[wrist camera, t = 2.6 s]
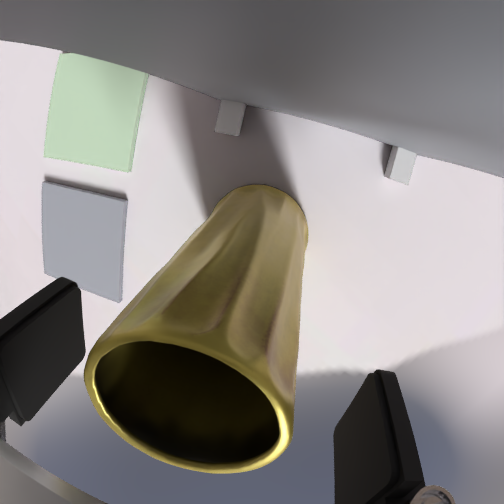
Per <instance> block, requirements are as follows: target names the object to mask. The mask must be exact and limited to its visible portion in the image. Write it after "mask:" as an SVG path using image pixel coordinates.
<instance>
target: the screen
mask: <svg viewBox="0 0 504 504" xmlns="http://www.w3.org/2000/svg"><path fill="white" fill-rule="evenodd" d="M0 40H3V41H11V42H18V43H24V44H30V45H36V46H41V47H47V48H52V49H57V50H62V51H66V52H71V53H75V54H79V55H83V56H87V57H91V58H95V59H99V60H103V61H107V62H110V63H114V64H117V65H121V66H124V67H128V68H131V69H134V70H138V71H141V72H144V73H147V74H150V75H153V76H156V77H159V78H162V79H165V80H168V81H171V82H174V83H176V84H179V85H182V86H185V87H187V88H190V89H193V90H195V91H198V92H201V93H203V94H206V95H208V96H211V97H213V98H216V99H218V100H221V104H220V108H219V113H218V117H217V122H216V126H215V131H214V132H218V133H223V134H228V135H233V136H239V135H240V130H241V126H242V121H243V117H244V113H245V109H246V105H249V106H254V107H258V108H263V109H268V110H272V111H277V112H281V113H285V114H289V115H293V116H297V117H301V118H305V119H309V120H312V121H316V122H320V123H323V124H327V125H330V126H334V127H337V128H340V129H344V130H347V131H350V132H353V133H357V134H360V135H363V136H366V137H369V138H372V139H375V140H377V141H380V142H383V143H386V144H389V145H392V150H391V154H390V157H389V161H388V164H387V168H386V171H385V175H384V176H385V177H387V178H389V179H392V180H394V181H397V182H400V183H403V184H405V185H408V184H409V181H410V178H411V174H412V171H413V167H414V164H415V160H416V157H417V155H419V156H424V157H428V158H432V159H437V160H441V161H445V162H449V163H453V164H457V165H461V166H464V167H468V168H472V169H475V170H479V171H482V172H485V173H489V174H492V175H495V176H499V177H502V178H504V0H0Z"/></svg>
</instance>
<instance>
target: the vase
mask: <svg viewBox="0 0 504 504" xmlns="http://www.w3.org/2000/svg"><path fill="white" fill-rule="evenodd" d="M307 243H308V226H307V222H306V219H305V216H304V214H303V212H302V210H301V208H300V207H299V206H298V204H297V203H296V202H295V201H294V200H293V199H292V198H291V197H290V196H289V195H287V194H286V193H284V192H283V191H281V190H279V189H276V188H274V187H270V186H267V185H247V186H243V187H239V188H236V189H234V190H232V191H231V192H230V193H228V194H227V195H226V196H225V197H223V198H222V199H221V200H220V201H219V202H218V204H217V205H216V206H215V208H214V210H213V212H212V214H211V215H210V217H209V218H208V219H207V220H206V221H205V222H204V223H203V224H202V225H201V226H200V227H199V228H198V229H197V230H196V231H195V232H194V233H193V234H192V235H191V236H190V237H189V238H188V240H187V241H186V242H185V243H184V244H183V245H182V246H181V247H180V249H179V250H178V251H177V252H176V253H175V254H174V256H173V257H172V258H171V259H170V261H169V262H168V263H167V264H166V265H165V266H164V267H163V268H162V269H161V270H160V271H159V272H157V273H156V275H155V276H154V277H153V278H152V279H151V280H150V281H149V282H148V283H147V284H146V285H145V286H144V288H143V289H142V290H141V291H140V292H139V293H138V294H137V295H136V296H135V298H134V299H133V300H132V301H131V302H130V303H129V304H128V305H127V306H126V307H125V309H124V310H123V311H122V312H121V313H120V314H119V315H118V317H117V318H116V319H115V320H114V321H113V323H112V324H111V325H110V326H109V327H108V328H107V330H106V331H105V332H104V333H103V334H102V335H101V336H100V337H99V339H98V340H97V342H96V343H95V345H94V346H93V348H92V349H91V351H90V353H89V355H88V359H87V362H86V365H85V369H84V382H85V385H86V388H87V391H88V394H89V396H90V398H91V401H92V403H93V405H94V407H95V409H96V410H97V412H98V414H99V415H100V416H101V418H102V419H103V420H104V421H105V422H106V423H107V424H108V425H109V426H110V427H111V429H113V430H114V431H115V432H116V433H117V434H118V435H119V436H120V437H122V438H123V439H124V440H125V441H126V442H128V443H130V444H131V445H132V446H134V447H135V448H137V449H139V450H141V451H142V452H144V453H146V454H148V455H150V456H151V457H153V458H156V459H158V460H160V461H163V462H165V463H168V464H171V465H174V466H178V467H181V468H185V469H190V470H194V471H200V472H206V473H236V472H246V471H250V470H254V469H257V468H260V467H263V466H265V465H267V464H269V463H270V462H272V461H273V460H275V459H277V458H278V457H279V456H280V455H281V454H282V453H283V452H284V451H285V450H286V448H287V447H288V446H289V444H290V443H291V440H292V436H293V423H294V403H295V385H296V369H297V359H298V349H299V329H300V305H301V293H302V275H303V269H304V257H305V250H306V247H307Z"/></svg>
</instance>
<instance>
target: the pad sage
mask: <svg viewBox="0 0 504 504" xmlns="http://www.w3.org/2000/svg"><path fill="white" fill-rule="evenodd" d="M148 76H149V74H147V73H144V72H141V71H138V70H134V69H131V68H128V67H124V66H121V65H117V64H114V63H110V62H107V61H103V60H99V59H95V58H91V57H87V56H83V55H79V54H75V53H65V54H60V55H59V60H58V64H57V68H56V73H55V78H54V83H53V88H52V94H51V100H50V106H49V113H48V120H47V128H46V137H45V147H44V157H47V158H53V159H59V160H64V161H70V162H76V163H81V164H87V165H92V166H98V167H103V168H108V169H113V170H118V171H123V172H131V170H132V162H133V155H134V149H135V142H136V136H137V130H138V125H139V119H140V114H141V109H142V103H143V99H144V94H145V89H146V84H147V80H148Z"/></svg>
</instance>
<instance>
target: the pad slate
mask: <svg viewBox="0 0 504 504" xmlns="http://www.w3.org/2000/svg"><path fill="white" fill-rule="evenodd" d="M127 204H128V200H125V199H121V198H117V197H112V196H108V195H104V194H100V193H95V192H91V191H87V190H83V189H78V188H74V187H70V186H65V185H61V184H57V183H52V182H48V181H45V182H42V244H43V261H44V273H45V274H47V275H49V276H52V277H54V278H56V279H58V278H59V277H65V278H67V279H70V280H72V281H75V282H76V283H77V285H78V288H81V289H83V290H86V291H88V292H91V293H93V294H96V295H99V296H101V297H104V298H107V299H109V300H112V301H115V302H117V303H120V302H121V301H122V279H123V256H124V239H125V226H126V214H127Z"/></svg>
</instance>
